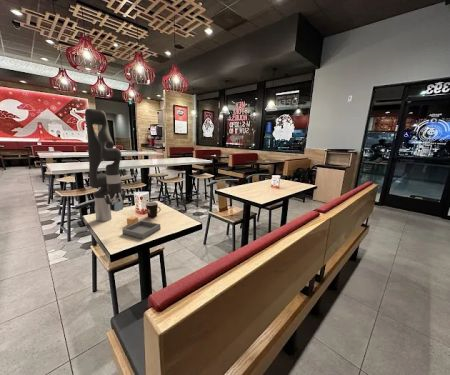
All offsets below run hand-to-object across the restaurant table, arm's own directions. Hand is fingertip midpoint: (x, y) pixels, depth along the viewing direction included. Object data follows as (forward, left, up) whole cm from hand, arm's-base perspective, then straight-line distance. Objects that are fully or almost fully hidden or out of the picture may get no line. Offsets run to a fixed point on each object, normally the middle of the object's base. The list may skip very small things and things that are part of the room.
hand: (116, 208), depth 131 cm
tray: (+13, +6, -15) cm, 21 cm away
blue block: (0, 0, -1) cm, 1 cm away
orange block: (-1, +12, -16) cm, 20 cm away
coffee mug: (+2, +29, -16) cm, 33 cm away
